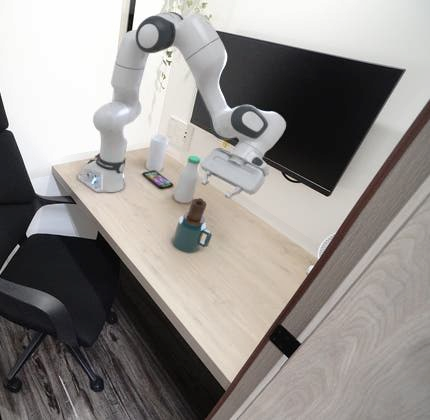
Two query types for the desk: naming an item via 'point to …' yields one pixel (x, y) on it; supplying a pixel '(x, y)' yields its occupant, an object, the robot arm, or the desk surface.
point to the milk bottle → (187, 181)
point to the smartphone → (158, 179)
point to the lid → (195, 212)
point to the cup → (157, 152)
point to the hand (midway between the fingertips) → (214, 190)
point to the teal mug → (190, 236)
